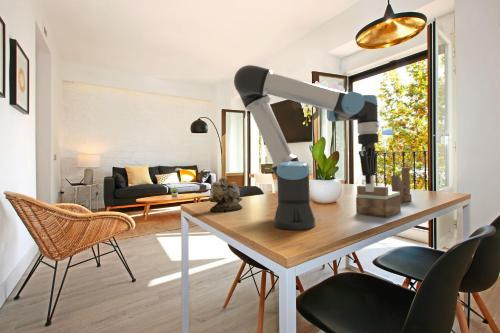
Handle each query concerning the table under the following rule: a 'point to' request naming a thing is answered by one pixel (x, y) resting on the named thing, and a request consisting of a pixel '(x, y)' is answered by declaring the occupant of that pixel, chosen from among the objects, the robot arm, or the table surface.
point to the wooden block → (402, 185)
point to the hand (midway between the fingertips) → (369, 191)
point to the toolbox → (378, 206)
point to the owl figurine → (225, 196)
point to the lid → (375, 193)
